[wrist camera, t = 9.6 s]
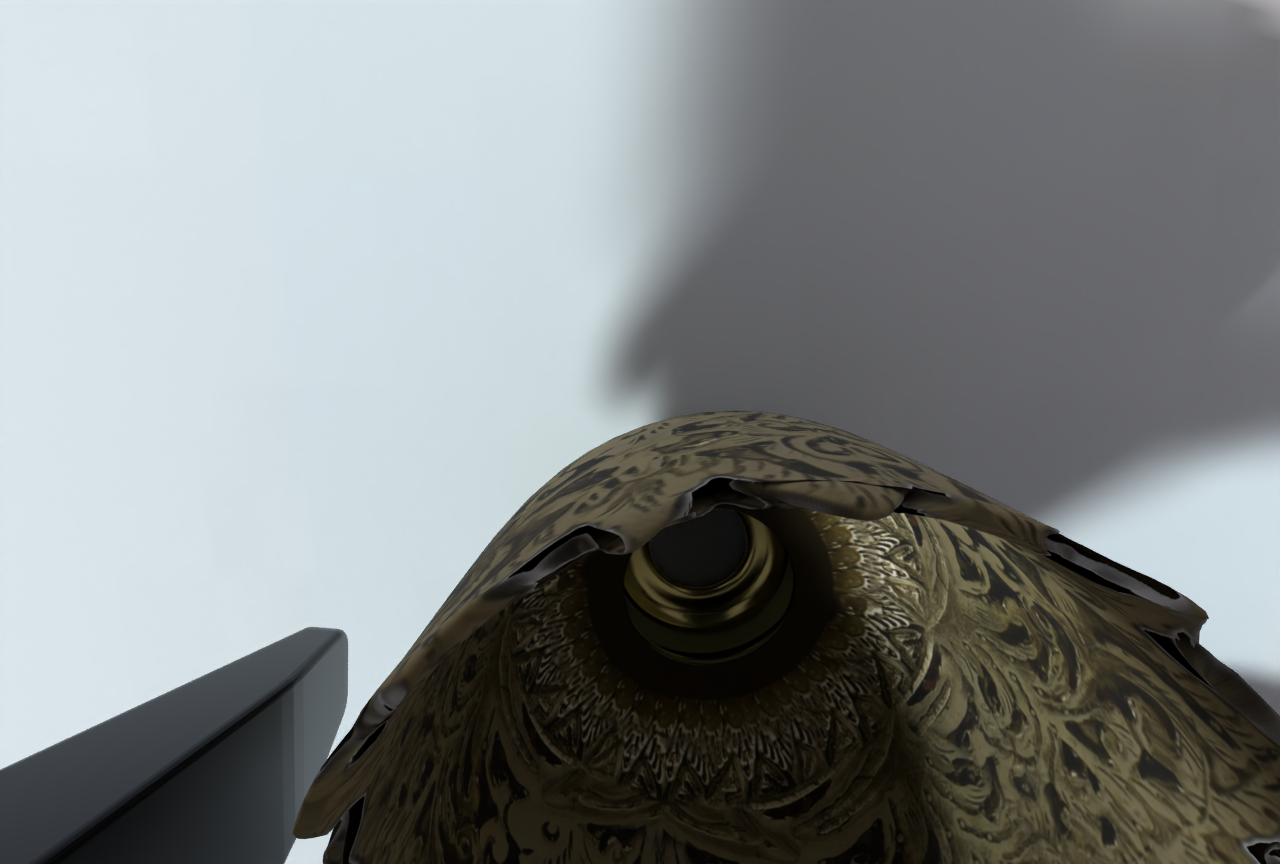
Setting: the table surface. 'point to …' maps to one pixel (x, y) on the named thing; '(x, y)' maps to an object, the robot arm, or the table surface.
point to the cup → (800, 683)
